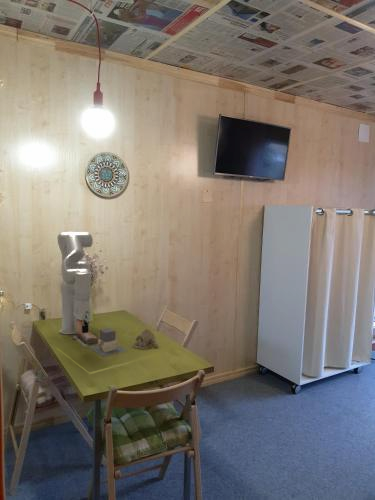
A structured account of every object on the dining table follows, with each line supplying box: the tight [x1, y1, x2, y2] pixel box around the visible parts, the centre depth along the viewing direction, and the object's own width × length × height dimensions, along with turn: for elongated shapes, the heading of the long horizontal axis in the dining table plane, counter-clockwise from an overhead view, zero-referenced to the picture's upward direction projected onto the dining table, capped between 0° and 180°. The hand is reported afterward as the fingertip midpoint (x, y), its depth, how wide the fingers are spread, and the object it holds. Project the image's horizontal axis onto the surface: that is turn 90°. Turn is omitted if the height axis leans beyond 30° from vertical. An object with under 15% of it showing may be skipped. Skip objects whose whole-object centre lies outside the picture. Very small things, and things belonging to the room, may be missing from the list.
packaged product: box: [73, 330, 99, 347], centre depth 212 cm, size 18×5×10 cm
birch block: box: [97, 338, 118, 352], centre depth 199 cm, size 7×7×5 cm
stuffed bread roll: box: [132, 328, 158, 350], centre depth 206 cm, size 14×11×10 cm
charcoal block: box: [99, 327, 117, 342], centre depth 198 cm, size 6×6×5 cm
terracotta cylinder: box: [76, 319, 86, 334], centre depth 191 cm, size 6×6×6 cm
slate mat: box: [88, 344, 127, 357], centre depth 199 cm, size 16×14×1 cm
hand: (82, 330), depth 192 cm, fingers closed on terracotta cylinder, 5 cm apart
